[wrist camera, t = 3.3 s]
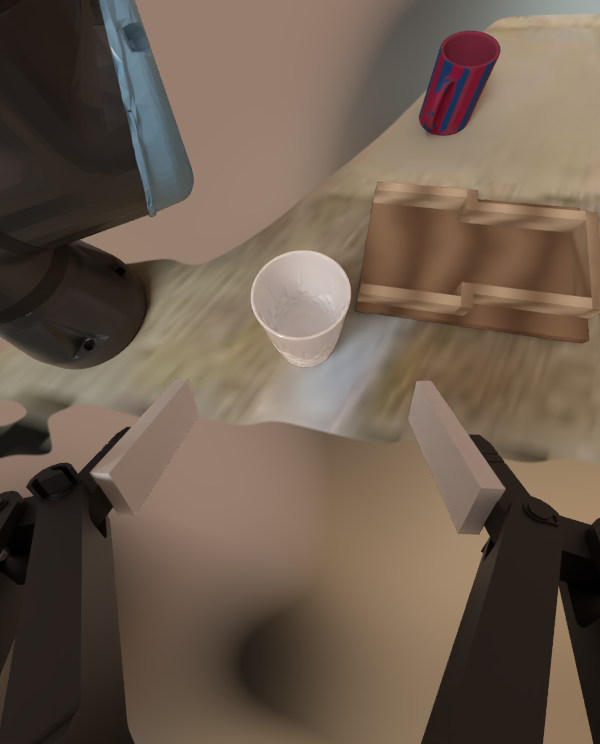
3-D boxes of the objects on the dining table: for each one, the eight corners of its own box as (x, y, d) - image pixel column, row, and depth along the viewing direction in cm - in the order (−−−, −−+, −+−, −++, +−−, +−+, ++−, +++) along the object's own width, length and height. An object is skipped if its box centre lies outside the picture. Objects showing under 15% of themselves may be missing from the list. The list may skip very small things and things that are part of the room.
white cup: (261, 358, 30) (233, 319, 20) (288, 300, 31) (274, 238, 22) (325, 383, 28) (329, 354, 19) (350, 321, 30) (365, 265, 20)
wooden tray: (355, 310, 30) (358, 299, 28) (373, 196, 34) (378, 176, 32) (581, 343, 27) (608, 333, 25) (573, 213, 31) (595, 194, 29)
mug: (477, 115, 36) (512, 43, 30) (433, 157, 35) (460, 92, 28) (437, 95, 38) (462, 23, 31) (394, 135, 37) (411, 69, 30)
